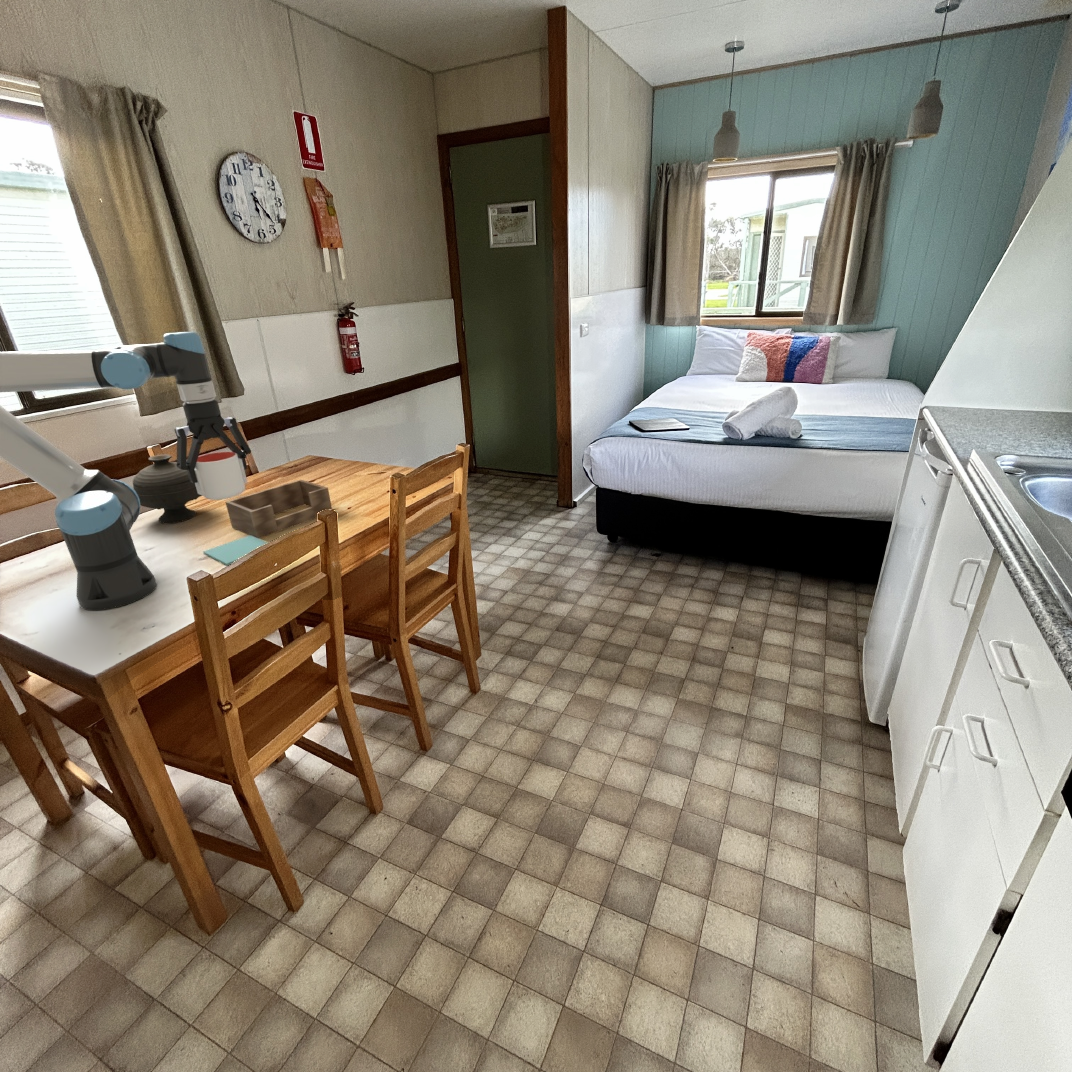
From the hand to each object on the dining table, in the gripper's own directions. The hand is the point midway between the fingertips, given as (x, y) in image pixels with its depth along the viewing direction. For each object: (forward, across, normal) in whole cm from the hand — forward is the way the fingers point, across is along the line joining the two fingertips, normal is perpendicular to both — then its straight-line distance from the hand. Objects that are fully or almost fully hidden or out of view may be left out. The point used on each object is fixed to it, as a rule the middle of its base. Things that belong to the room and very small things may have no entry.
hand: (223, 488), depth 149 cm
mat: (+18, 0, 0) cm, 18 cm away
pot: (+18, +1, +42) cm, 46 cm away
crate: (+18, +19, +11) cm, 28 cm away
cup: (+2, 0, 0) cm, 2 cm away
